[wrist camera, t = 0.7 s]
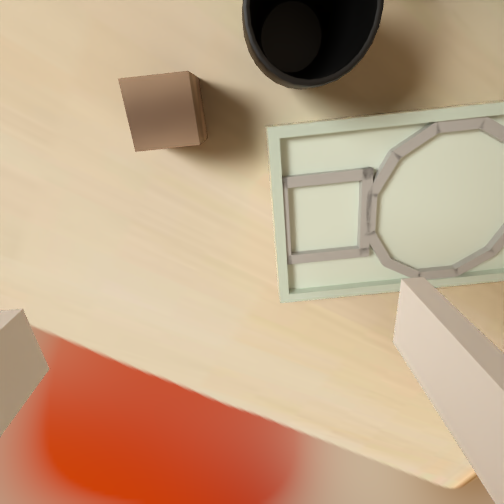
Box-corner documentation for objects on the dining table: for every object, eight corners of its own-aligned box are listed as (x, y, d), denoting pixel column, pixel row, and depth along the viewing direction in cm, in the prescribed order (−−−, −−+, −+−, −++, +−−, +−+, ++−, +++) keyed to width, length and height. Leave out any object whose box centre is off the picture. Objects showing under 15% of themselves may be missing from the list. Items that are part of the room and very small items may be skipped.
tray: (265, 126, 30) (267, 127, 28) (549, 95, 30) (571, 94, 28) (278, 292, 37) (280, 303, 35) (505, 269, 37) (520, 279, 35)
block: (142, 83, 28) (118, 78, 23) (198, 77, 28) (188, 70, 23) (154, 143, 31) (135, 151, 25) (207, 137, 30) (199, 144, 25)
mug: (394, -15, 26) (470, -76, 17) (295, 113, 30) (317, 115, 21) (319, -103, 24) (363, -222, 15) (222, 47, 27) (213, 20, 19)
